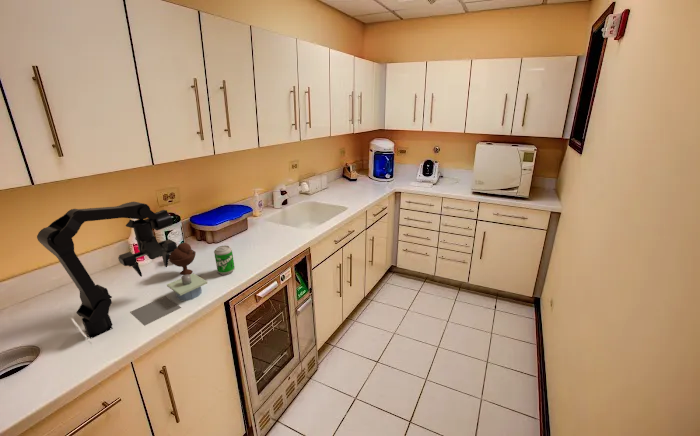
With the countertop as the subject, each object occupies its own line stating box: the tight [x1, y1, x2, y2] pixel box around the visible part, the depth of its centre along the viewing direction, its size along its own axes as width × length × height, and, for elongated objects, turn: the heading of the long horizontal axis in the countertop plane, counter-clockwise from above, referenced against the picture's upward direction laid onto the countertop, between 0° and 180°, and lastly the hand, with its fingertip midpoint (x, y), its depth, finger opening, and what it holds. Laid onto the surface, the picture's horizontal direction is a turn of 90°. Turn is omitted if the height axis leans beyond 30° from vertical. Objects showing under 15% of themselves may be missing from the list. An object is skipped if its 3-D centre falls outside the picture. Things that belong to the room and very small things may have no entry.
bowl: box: [175, 286, 202, 302], centre depth 131 cm, size 9×9×5 cm
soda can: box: [213, 244, 235, 276], centre depth 147 cm, size 8×8×12 cm
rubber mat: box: [129, 295, 182, 326], centre depth 122 cm, size 13×13×1 cm
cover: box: [166, 272, 208, 296], centre depth 129 cm, size 11×11×4 cm
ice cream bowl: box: [168, 242, 196, 276], centre depth 146 cm, size 11×11×15 cm
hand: (153, 271), depth 126 cm, fingers open, 9 cm apart
